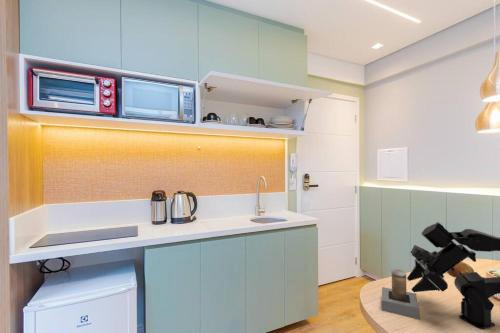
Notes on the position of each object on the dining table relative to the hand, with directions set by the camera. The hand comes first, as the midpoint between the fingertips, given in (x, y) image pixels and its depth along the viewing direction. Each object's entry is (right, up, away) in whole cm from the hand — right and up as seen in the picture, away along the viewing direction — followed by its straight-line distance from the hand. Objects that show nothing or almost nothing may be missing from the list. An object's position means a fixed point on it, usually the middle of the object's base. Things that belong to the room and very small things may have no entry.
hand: (410, 285), depth 88 cm
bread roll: (+41, -9, +27) cm, 49 cm away
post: (-3, -8, +1) cm, 9 cm away
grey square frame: (-3, -8, +1) cm, 9 cm away
